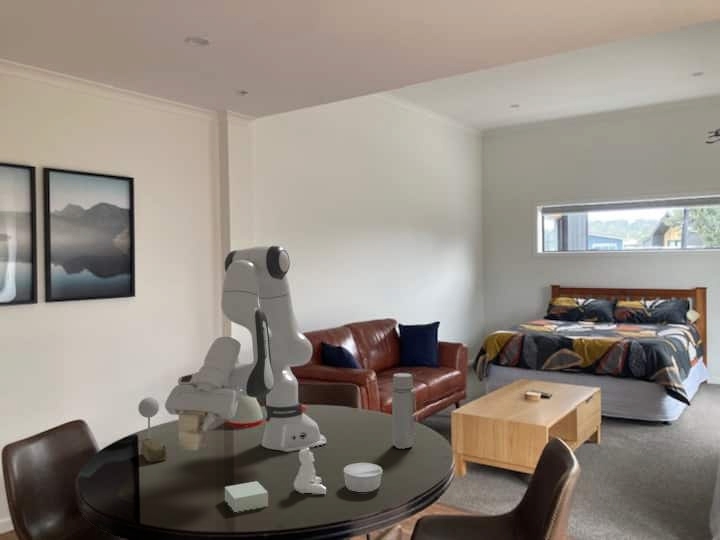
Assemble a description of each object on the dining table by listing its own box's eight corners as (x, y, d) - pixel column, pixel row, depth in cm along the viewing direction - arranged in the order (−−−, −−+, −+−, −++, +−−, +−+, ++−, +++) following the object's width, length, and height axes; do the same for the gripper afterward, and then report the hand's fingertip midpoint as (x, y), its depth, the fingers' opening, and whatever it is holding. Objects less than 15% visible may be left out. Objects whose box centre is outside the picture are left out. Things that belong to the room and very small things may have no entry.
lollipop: (163, 437, 218) (163, 396, 218) (150, 442, 211) (150, 400, 211) (147, 435, 220) (147, 394, 220) (134, 440, 213) (133, 398, 213)
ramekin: (369, 498, 162) (369, 479, 162) (335, 490, 168) (335, 471, 168) (389, 485, 172) (389, 467, 172) (356, 477, 178) (356, 460, 178)
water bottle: (388, 449, 204) (388, 376, 204) (395, 442, 211) (396, 372, 211) (414, 452, 201) (414, 378, 200) (421, 445, 208) (421, 374, 207)
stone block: (148, 464, 189) (148, 448, 189) (140, 454, 199) (140, 439, 199) (167, 461, 192) (167, 445, 192) (158, 451, 202) (158, 437, 202)
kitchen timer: (229, 418, 243) (229, 382, 243) (263, 417, 245) (263, 381, 245) (225, 428, 230) (225, 389, 229) (261, 427, 231) (261, 388, 231)
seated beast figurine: (327, 495, 164) (327, 451, 164) (296, 498, 162) (296, 454, 162) (320, 482, 173) (320, 441, 173) (290, 486, 171) (290, 444, 171)
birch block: (189, 443, 162) (189, 410, 162) (205, 445, 161) (205, 411, 161) (178, 449, 158) (178, 415, 158) (195, 450, 156) (195, 416, 156)
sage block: (257, 495, 165) (257, 481, 165) (268, 507, 157) (268, 492, 157) (224, 501, 161) (224, 486, 161) (234, 514, 153) (234, 498, 153)
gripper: (247, 393, 167) (230, 438, 158) (182, 389, 173) (163, 432, 164) (239, 380, 163) (222, 425, 154) (174, 376, 169) (153, 419, 159)
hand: (191, 429), depth 159 cm, fingers closed on birch block, 5 cm apart
